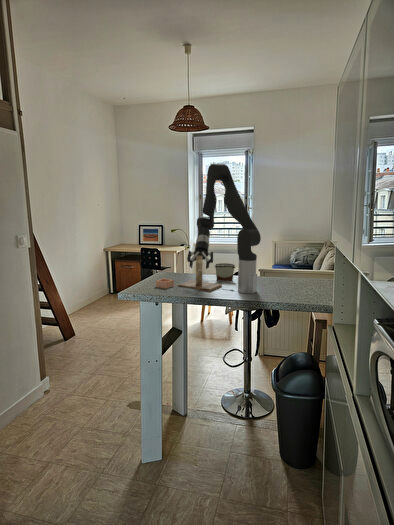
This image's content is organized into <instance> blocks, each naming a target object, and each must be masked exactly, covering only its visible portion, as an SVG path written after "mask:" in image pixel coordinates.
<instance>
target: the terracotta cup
mask: <svg viewBox="0 0 394 525" xmlns="http://www.w3.org/2000/svg"><path fill="white" fill-rule="evenodd" d="M174 286H175V280H174V279H168V278H161V279H157V280H155V288H160V289H169V288H172V287H174Z"/></svg>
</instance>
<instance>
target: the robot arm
mask: <svg viewBox="0 0 394 525" xmlns="http://www.w3.org/2000/svg"><path fill="white" fill-rule="evenodd" d="M218 181H220V182H221V183H222V184H223V186H224V196H223V203H224V205H225V208H226V210H227V212H228V213H229V215H230V216H231V217H232V218H233V219H235V221H236V222H238V223H239V225H240V226H241V227H242V229H240V230H239V231H238V233H237V240H236V245H237V246H236V247H237V249H236V252H237V255H238V271H237V273H238V274H237V292H238V293H240V294H251V295H252V294H255V293H256V292H257V288H258V273H257V262H258V261H257V259H258V258H257V257H258V255H257V253H254V252H253V251H252V247H255V246H258V245H259V244H260V243H261V238H262V237H261V234H260V231H259V229H258V228H257V226H256V224H255V222H254V221H253V219H252V217H251V216H250V213H249V212H248V210H247V208H246V206H245V203H244V201H243V199H242V197H241V195H240V194H239V191H238V188H237V187H236V184H235V181H234V179H233V176H232V173H231V171H230V168H229V166H228V165H227V164H225V163H211V164H210V165H208V168H207V174H206V183H205V184H206V187H205V198H204V203H203V206H202V214H204V215H206V216H202V215H201V216H198V218H197V219H196V227H197V237H196V240H195V241H196V242H195V245H194V246H195V248H194V251H191V250H189V251H188V254H187V257H186V260H187V261H186V262H188V263H189V267H190V268H191V269H193V266H194V265H193V264H194V262H196V256H203V260H204V262H206V264H205V269H206V270H208V269H209V267H210V264H213V262H214V252H213V251H211V252H209V247H210V235H211V232H210V230H213V229H214V227H215V210H216V207H217V195H216V192H215V184H216V182H218ZM207 216H208V217H207ZM208 256H209V257H210V259H209V258H208Z"/></svg>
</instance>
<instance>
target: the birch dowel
mask: <svg viewBox="0 0 394 525" xmlns="http://www.w3.org/2000/svg"><path fill="white" fill-rule="evenodd" d="M195 258H196V261H195V281H196V285H202V282H203V260H204V259H203V256H196V257H195Z"/></svg>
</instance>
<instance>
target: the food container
mask: <svg viewBox="0 0 394 525" xmlns="http://www.w3.org/2000/svg"><path fill="white" fill-rule="evenodd" d="M214 268H215V272H216V273H215V274H216V275H215V276H216V281H217V282H231V281H232V282H233V278H234V273H235V269H236V266H235V264H233V263H227V262H225V263H220V262H219V263H215V265H214Z"/></svg>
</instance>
